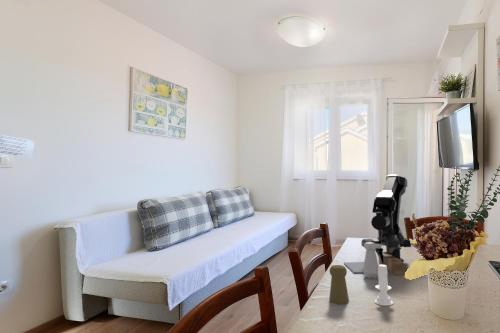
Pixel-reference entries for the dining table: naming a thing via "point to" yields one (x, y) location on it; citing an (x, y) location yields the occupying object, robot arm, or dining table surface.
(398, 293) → the dining table surface
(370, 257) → the salt shaker
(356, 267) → the rest mat
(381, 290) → the candle
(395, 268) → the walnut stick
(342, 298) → the pepper shaker
